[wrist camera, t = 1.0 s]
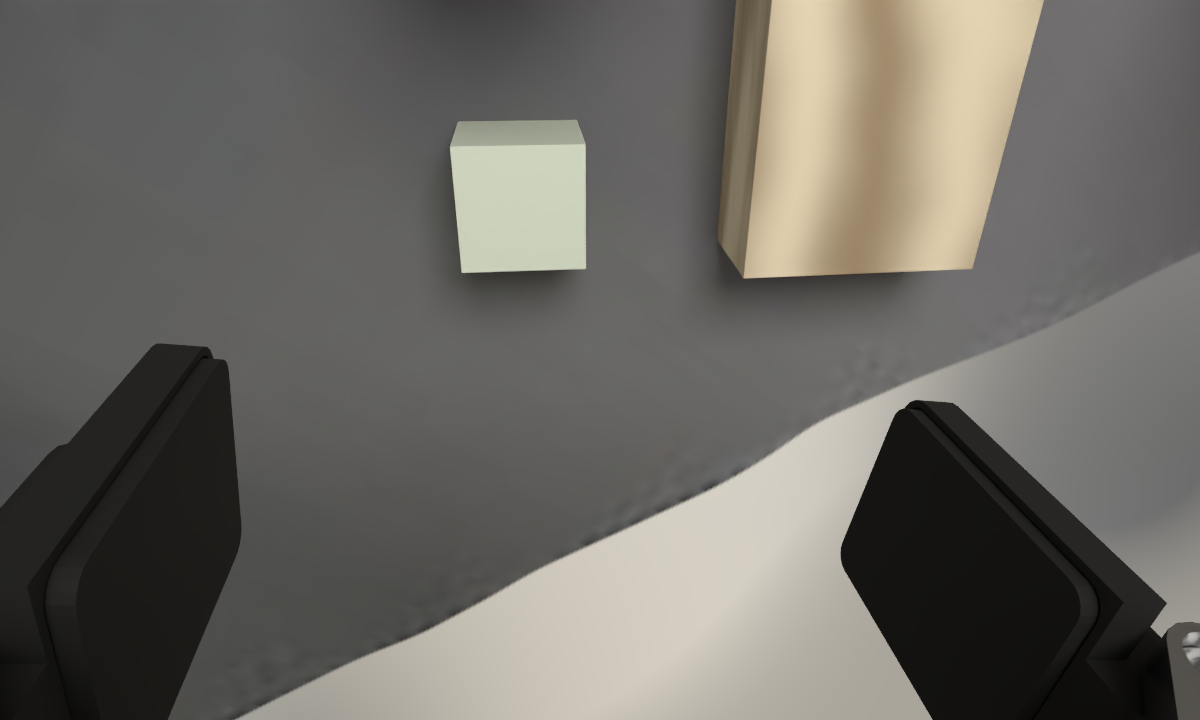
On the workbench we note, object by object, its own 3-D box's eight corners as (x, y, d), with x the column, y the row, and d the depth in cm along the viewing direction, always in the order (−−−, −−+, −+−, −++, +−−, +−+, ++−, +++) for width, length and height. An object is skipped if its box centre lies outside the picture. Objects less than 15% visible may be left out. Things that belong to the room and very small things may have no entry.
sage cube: (576, 119, 31) (585, 144, 27) (577, 231, 34) (585, 268, 30) (458, 121, 31) (449, 146, 27) (468, 234, 33) (461, 272, 29)
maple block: (991, -112, 29) (1076, -123, 24) (916, 229, 36) (972, 268, 31) (742, -113, 28) (784, -125, 23) (715, 237, 35) (743, 278, 30)
